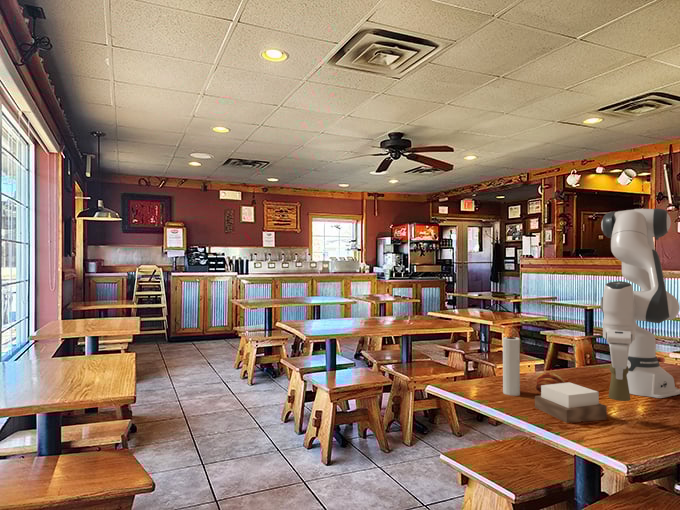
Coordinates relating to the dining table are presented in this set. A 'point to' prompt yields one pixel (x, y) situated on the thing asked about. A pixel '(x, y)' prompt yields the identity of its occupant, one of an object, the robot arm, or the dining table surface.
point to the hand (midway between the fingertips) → (619, 376)
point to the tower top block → (570, 395)
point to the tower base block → (571, 411)
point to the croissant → (547, 380)
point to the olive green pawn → (619, 386)
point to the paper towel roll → (511, 366)
